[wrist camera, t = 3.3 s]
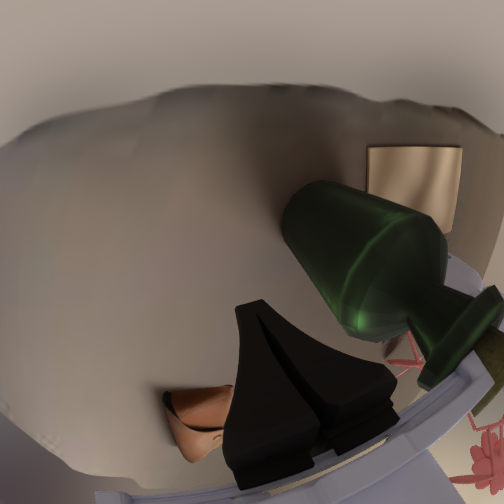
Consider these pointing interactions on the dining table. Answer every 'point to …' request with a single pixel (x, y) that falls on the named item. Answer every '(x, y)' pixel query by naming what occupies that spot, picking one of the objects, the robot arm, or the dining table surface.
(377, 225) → the potion bottle
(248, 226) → the dining table surface
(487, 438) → the figurine
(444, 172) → the placemat
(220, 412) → the sunglasses case
